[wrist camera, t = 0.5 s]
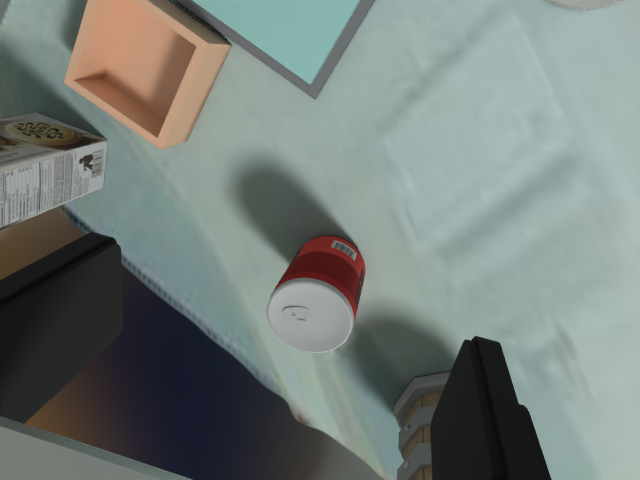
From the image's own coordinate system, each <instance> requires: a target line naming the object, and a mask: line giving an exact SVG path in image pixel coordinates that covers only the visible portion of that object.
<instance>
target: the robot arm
mask: <svg viewBox="0 0 640 480" xmlns="http://www.w3.org/2000/svg"><path fill="white" fill-rule="evenodd" d="M545 1H547V2H549V3H551V4H553V5H555V6H559V7H563V8H567V9H572V10H590V9H596V8H602V7H606V6H609V5H613V4H617V3H619V2H622V1H624V0H545ZM121 268H122V266H121V248H120V246H119V245H118V244H117V242H116V240H115V239H114V238H113V237H109V236H105V235H102V234H98V233H93V232H92V233H89V234H87V235H85V236H83V237H81V238H79V239H77V240H75V241H73V242H72V243H70V244H68V245H66V246H64V247H62V248H60V249H58V250H57V251H55V252H53V253H51V254H49V255H47V256H45V257H43V258H41V259H39V260H38V261H36V262H34V263H32V264H30V265H28V266H26V267H25V268H23V269H21V270H19V271H17V272H15V273H13V274H11V275H10V276H7V277H6V278H4V279H2V280H0V480H191V479H188V478H185V477H182V476H179V475H176V474H173V473H170V472H167V471H164V470H161V469H158V468H155V467H153V466H150V465H147V464H144V463H140V462H138V461H134V460H132V459H128V458H126V457H123V456H120V455H117V454H114V453H111V452H108V451H105V450H102V449H99V448H96V447H93V446H90V445H87V444H83V443H80V442H78V441H74V440H72V439H68V438H65V437H62V436H59V435H56V434H53V433H50V432H47V431H44V430H41V429H38V428H35V427H32V426H29V425H26V424H24V423H25V422H27V421H28V420H29V419H30V418H31V417H32V416H33V415H34V414H35V413H36V412H37V411H38V410H39V409H41V408H42V407H43V405H45V404H46V403H47V402H48V401H49V400H50V399H51V398H52V397H53V396H54V395H55V394H57V393H58V392H59V391H60V390H61V389H62V388H63V387H64V386H65V385H66V384H67V383H68V382H69V381H71V380H72V379H73V378H74V377H75V376H76V375H77V374H78V373H79V372H80V371H81V370H82V369H84V368H85V367H86V366H87V365H88V364H89V363H90V362H91V361H92V360H93V359H94V358H95V357H96V356H97V355H99V354H100V353H101V352H102V351H103V350H104V349H105V348H106V347H107V346H108V345H109V344H110V343H111V342H113V341H114V340H115V339H116V338H117V337H118V336H119V334H120V332H121V330H122V327H123V301H122V269H121ZM430 438H431V461H432V480H551V477H550V474H549V471H548V468H547V465H546V462H545V459H544V456H543V453H542V450H541V447H540V444H539V440H538V437H537V434H536V431H535V428H534V425H533V422H532V419H531V416H530V413H529V411H528V409H527V408H526V407H525V406H524V405H520V404H519V403H518V400H517V397H516V393H515V390H514V387H513V384H512V380H511V377H510V374H509V371H508V367H507V364H506V361H505V357H504V354H503V351H502V348H501V345H500V343H499V342H496V341H492V340H489V339H485V338H481V337H478V336H475V337H474V338H473V339H472V341H470V340H465V341H464V342H463V344H462V346H461V349H460V351H459V354H458V356H457V358H456V361H455V363H454V366H453V368H452V370H451V373H450V375H449V378H448V380H447V383H446V385H445V387H444V390H443V392H442V395H441V397H440V399H439V402H438V404H437V407H436V409H435V412H434V414H433V417H432V420H431V426H430Z"/></svg>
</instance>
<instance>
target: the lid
mask: <svg viewBox="0 0 640 480" xmlns="http://www.w3.org/2000/svg"><path fill="white" fill-rule="evenodd" d="M192 1H194V2H195V3H197V4H198V5H199V6H201V7H202V8H204V9H205V10H206V11H208V12H209V13H211V14H212V15H213V16H215V17H216V18H218V19H219V20H220V21H222V22H223V23H225V24H226V25H227V26H229V27H230V28H232V29H233V30H234V31H236V32H237V33H239V34H240V35H241V36H243V37H244V38H246V39H247V40H248V41H250V42H251V43H253V44H254V45H255V46H257V47H258V48H260V49H261V50H262V51H264V52H265V53H267V54H268V55H269V56H271V57H272V58H274V59H275V60H276V61H278V62H279V63H281V64H282V65H283V66H285V67H286V68H288V69H289V70H290V71H292V72H293V73H295V74H296V75H297V76H299V77H300V78H302V79H303V80H304V81H306V82H307V83H309V84H312V82H313V81H314V79H315V77H316V76H317V74H318V72H319V70H320V69H321V67H322V65H323V64H324V62H325V60H326V58H327V57H328V55H329V53H330V52H331V50H332V48H333V47H334V45H335V43H336V41H337V40H338V38H339V36H340V35H341V33H342V31H343V29H344V28H345V26H346V24H347V23H348V21H349V19H350V17H351V16H352V14H353V12H354V11H355V9H356V7H357V6H358V4H359V2H360V0H192Z"/></svg>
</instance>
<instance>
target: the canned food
mask: <svg viewBox="0 0 640 480" xmlns="http://www.w3.org/2000/svg"><path fill="white" fill-rule="evenodd" d="M364 277H365V264H364V260H363V258H362V256H361V254H360V252H359V251H358V250H357V248H356V247H355V246H354V245H353V244H352V243H350V242H348V241H347V240H345V239H343V238H340V237H336V236H320V237H317V238H314V239H311V240H310V241H308V242H306V243H305V244H304V245H303V246H302V247H301V248H300V249H299V251H298V252H297V254H296V256H295V257H294V259H293V260H292V262H291V264H290V265H289V267H288V268H287V270H286V272H285V273H284V275H283V276H282V278H281V280H280V281H279V283H278V284H277V286H276V288H275V289H274V291H273V293H272V295H271V297H270V300H269V302H268V305H267V318H268V321H269V324H270V326H271V328H272V330H273V331H274V333H275V334H276V335H277V336H278V337H279V338H280V339H281V340H282V341H283V342H285V343H286V344H288V345H289V346H291V347H293V348H296V349H298V350H301V351H305V352H311V353H323V352H328V351H331V350H334V349H336V348H338V347H339V346H341V345H342V344H343V343H344V342H345V341H346V340H347V339H348V337H349V335H350V333H351V331H352V329H353V324H354V321H355V317H356V313H357V308H358V304H359V299H360V295H361V290H362V286H363V281H364Z"/></svg>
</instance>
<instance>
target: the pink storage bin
mask: <svg viewBox="0 0 640 480" xmlns="http://www.w3.org/2000/svg"><path fill="white" fill-rule="evenodd" d="M231 46H232V45H231V44H229V43H228V42H226V41H225V40H224V39H222V38H221V37H219V36H218V35H217V34H215V33H214V32H212V31H211V30H210V29H208V28H207V27H205V26H204V25H203V24H201V23H200V22H198V21H197V20H196V19H194V18H193V17H191V16H190V15H188V14H187V13H186V12H184V11H183V10H181V9H180V8H179V7H177V6H176V5H174V4H173V3H172V2H170V1H169V0H88V1H87V4H86V8H85V11H84V15H83V18H82V22H81V25H80V28H79V32H78V35H77V39H76V42H75V46H74V49H73V52H72V56H71V59H70V63H69V66H68V70H67V73H66V76H65V80H64V83H65V84H66V85H68V86H69V87H71V88H72V89H73V90H75V91H76V92H78V93H79V94H81V95H82V96H84V97H85V98H87V99H88V100H89V101H91V102H92V103H94V104H95V105H97V106H98V107H100V108H101V109H103V110H104V111H106V112H107V113H108V114H110V115H111V116H113V117H114V118H116V119H117V120H119V121H120V122H122V123H123V124H124V125H126V126H127V127H129V128H130V129H132V130H133V131H135V132H136V133H138V134H139V135H141V136H142V137H143V138H145V139H146V140H148V141H149V142H151V143H152V144H154V145H155V146H157V147H158V148H159V149H161V150H162V149H165V148H168V147H171V146H173V145H176V144H179V143H182V142H185V141H187V140H188V137H189V135H190V133H191V131H192V129H193V127H194V125H195V123H196V120H197V118H198V116H199V114H200V112H201V110H202V108H203V105H204V103H205V101H206V99H207V97H208V95H209V93H210V91H211V88H212V86H213V84H214V82H215V80H216V78H217V76H218V74H219V71H220V69H221V67H222V65H223V63H224V61H225V59H226V57H227V54H228V52H229V50H230V48H231Z"/></svg>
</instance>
